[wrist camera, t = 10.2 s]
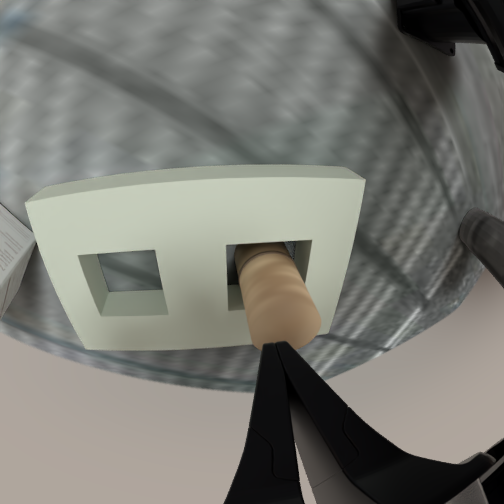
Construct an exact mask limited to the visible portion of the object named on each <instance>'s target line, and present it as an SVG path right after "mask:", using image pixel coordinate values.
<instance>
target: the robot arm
mask: <svg viewBox="0 0 504 504" xmlns="http://www.w3.org/2000/svg"><path fill="white" fill-rule="evenodd" d="M397 15H398V28H399V30H400V31H401V32H402V33H404V34H406V35H409V36H411V37H413V38H415V39H418V40H420V41H422V42H424V43H426V44H428V45H430V46H432V47H434V48H436V49H438V50H440V51H441V52H443V53H445V54H447V55H449V56H454V55H455V43H476V44H487V46H488V48H489V50H490V52H491V54H492V57H493V59H494V61H495V62H494V63H495V65H496V68H497V70H499V71H501V72H503V73H504V0H397ZM404 27H405V29H404ZM294 440H295V441H294ZM295 443H296V445H297V448H298V451H299V454H300V457H301V460H302V463H303V466H304V469H305V471H306V474H307V477H308V480H309V483H310V486H311V488H312V491H313V494H314V497H315V500H316V503H317V504H504V438H503V439H501V440H500V441H498V442H497V443H496V444H494V445H493V446H492V447H491V448H489V449H488V450H487V451H485V452H484V453H482V452H479V453H476V454H474V455H473V456H471V457H470V458H468V459H466V460H464V461H462V462H461V463H459V464H451V463H446V462H441V461H436V460H431V459H427V458H422V457H418V456H414V455H411V454H409V453H407V452H405V451H403V450H401V449H400V448H398V447H397V446H395V445H394V444H393V443H391V442H390V441H389V440H387V439H386V438H385V437H383V436H382V435H380V434H379V433H378V432H377V431H375V430H374V429H373V428H372V427H370V426H369V425H368V424H367V423H365V422H364V421H363V420H362V419H361V418H360V417H359V416H358V415H357V414H356V413H355V412H354V411H353V410H352V409H351V408H350V407H348V405H347V404H346V403H345V402H344V401H343V400H342V399H341V398H340V397H339V396H338V395H337V394H336V393H335V392H334V391H333V390H332V389H331V388H330V387H329V385H328V384H327V383H326V382H325V381H324V380H323V379H322V378H321V377H320V376H319V375H318V374H317V373H316V372H315V371H314V370H313V369H312V368H311V367H310V365H309V364H308V363H307V362H306V361H305V360H304V359H303V358H302V357H301V356H300V355H299V354H298V353H297V352H296V350H295V349H294V348H293V347H292V346H291V345H290V344H289V343H288V342H287V341H277V342H275V343H273V342H270V343H264V344H263V345H262V351H261V358H260V364H259V370H258V376H257V382H256V388H255V394H254V400H253V406H252V411H251V417H250V422H249V428H248V433H247V438H246V443H245V447H244V451H243V454H242V457H241V460H240V464H239V466H238V469H237V472H236V474H235V477H234V479H233V482H232V484H231V487H230V490H229V492H228V494H227V497H226V499H225V501H224V504H305V503H304V500H303V496H302V491H301V486H300V482H299V481H300V478H299V471H298V463H297V456H296V448H295Z"/></svg>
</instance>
